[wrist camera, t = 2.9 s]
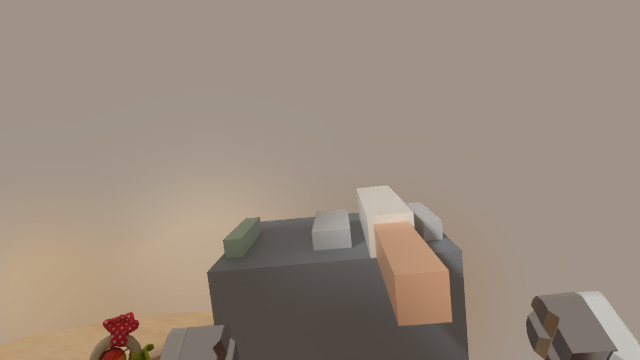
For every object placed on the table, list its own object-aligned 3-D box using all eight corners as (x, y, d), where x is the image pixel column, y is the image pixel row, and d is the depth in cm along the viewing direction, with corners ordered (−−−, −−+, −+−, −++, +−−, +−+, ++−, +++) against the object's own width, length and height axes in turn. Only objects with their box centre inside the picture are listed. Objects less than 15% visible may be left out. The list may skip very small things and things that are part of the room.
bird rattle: (119, 409, 59) (172, 362, 64) (72, 357, 55) (132, 311, 60) (110, 391, 64) (160, 348, 69) (66, 342, 60) (122, 300, 65)
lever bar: (461, 321, 18) (457, 256, 18) (389, 326, 18) (384, 263, 18) (389, 213, 42) (387, 185, 41) (359, 216, 42) (356, 188, 42)
